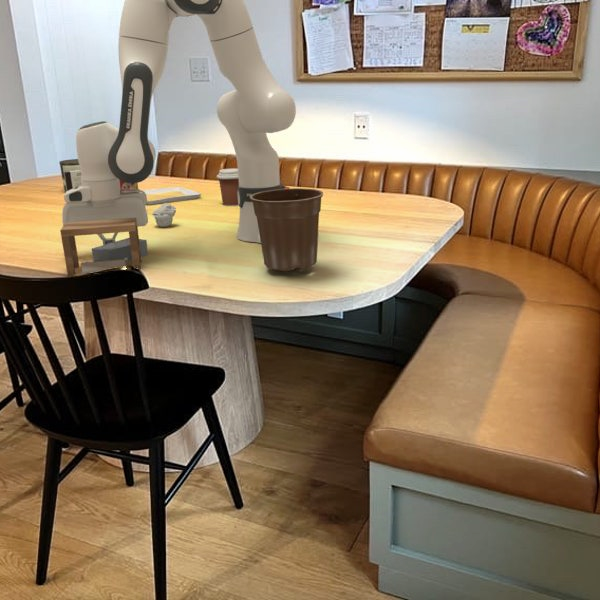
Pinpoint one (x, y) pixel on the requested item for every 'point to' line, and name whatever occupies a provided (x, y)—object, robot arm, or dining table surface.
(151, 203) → the salad plate
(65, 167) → the coffee can
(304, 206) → the plant pot
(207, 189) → the dining table surface
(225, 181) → the coffee cup
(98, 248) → the slab
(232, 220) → the dining table surface
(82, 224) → the bench
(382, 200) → the dining table surface
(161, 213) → the grey lumpy rounded piece
